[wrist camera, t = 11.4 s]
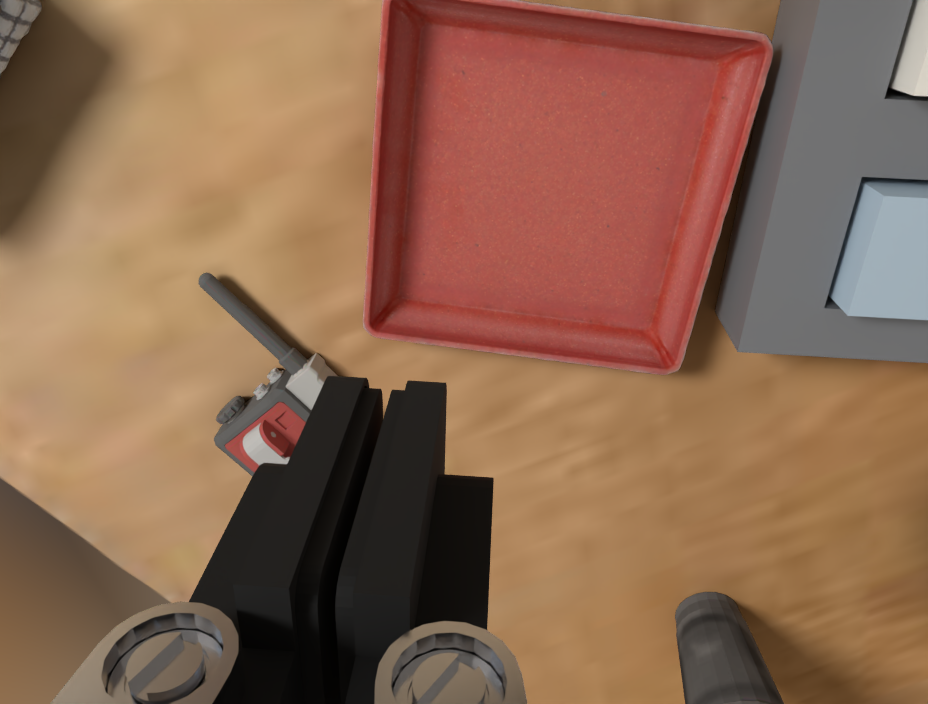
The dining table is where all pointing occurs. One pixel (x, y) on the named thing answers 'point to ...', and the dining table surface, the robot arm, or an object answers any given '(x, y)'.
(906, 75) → the white key
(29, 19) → the towel
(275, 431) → the walkie-talkie
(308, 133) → the dining table surface
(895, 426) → the dining table surface
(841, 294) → the blue key
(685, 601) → the beverage cup
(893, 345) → the console
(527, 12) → the plant saucer
